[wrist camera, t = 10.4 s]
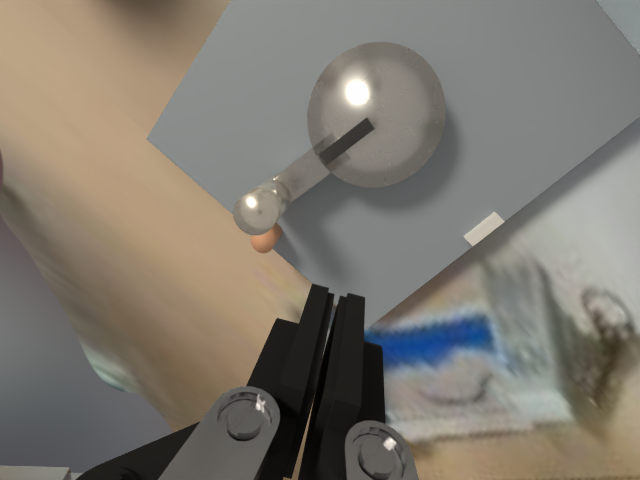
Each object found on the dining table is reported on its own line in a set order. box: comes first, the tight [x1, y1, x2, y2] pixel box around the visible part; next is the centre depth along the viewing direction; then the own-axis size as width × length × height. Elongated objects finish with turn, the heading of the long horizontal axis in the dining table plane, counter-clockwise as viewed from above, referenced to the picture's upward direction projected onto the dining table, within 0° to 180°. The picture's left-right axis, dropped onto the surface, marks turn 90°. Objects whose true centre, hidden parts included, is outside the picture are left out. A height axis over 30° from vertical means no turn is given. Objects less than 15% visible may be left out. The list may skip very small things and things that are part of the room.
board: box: [147, 0, 640, 329], centre depth 26 cm, size 28×30×5 cm
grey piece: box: [233, 42, 446, 236], centre depth 24 cm, size 16×10×8 cm, turn 127°
